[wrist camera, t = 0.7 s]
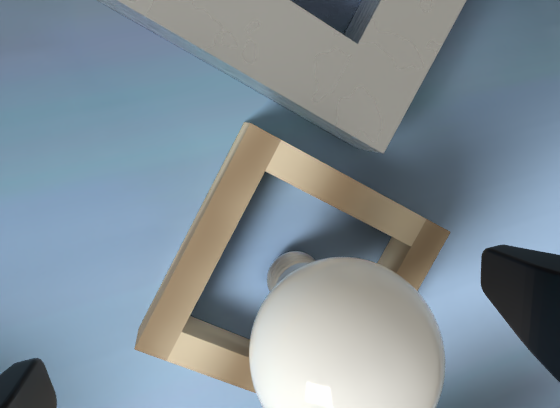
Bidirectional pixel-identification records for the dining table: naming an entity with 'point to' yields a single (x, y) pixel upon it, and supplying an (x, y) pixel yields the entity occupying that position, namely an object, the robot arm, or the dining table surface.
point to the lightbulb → (344, 338)
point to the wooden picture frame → (220, 226)
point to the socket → (313, 55)
